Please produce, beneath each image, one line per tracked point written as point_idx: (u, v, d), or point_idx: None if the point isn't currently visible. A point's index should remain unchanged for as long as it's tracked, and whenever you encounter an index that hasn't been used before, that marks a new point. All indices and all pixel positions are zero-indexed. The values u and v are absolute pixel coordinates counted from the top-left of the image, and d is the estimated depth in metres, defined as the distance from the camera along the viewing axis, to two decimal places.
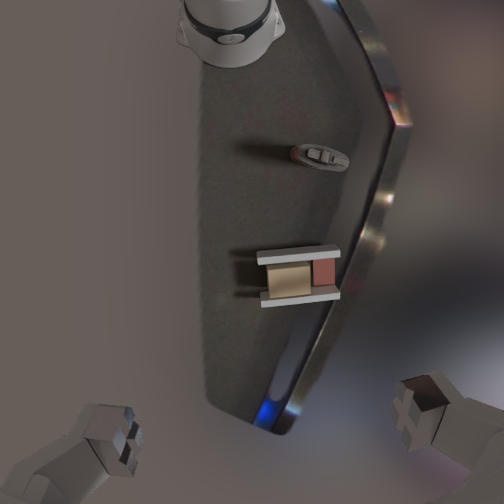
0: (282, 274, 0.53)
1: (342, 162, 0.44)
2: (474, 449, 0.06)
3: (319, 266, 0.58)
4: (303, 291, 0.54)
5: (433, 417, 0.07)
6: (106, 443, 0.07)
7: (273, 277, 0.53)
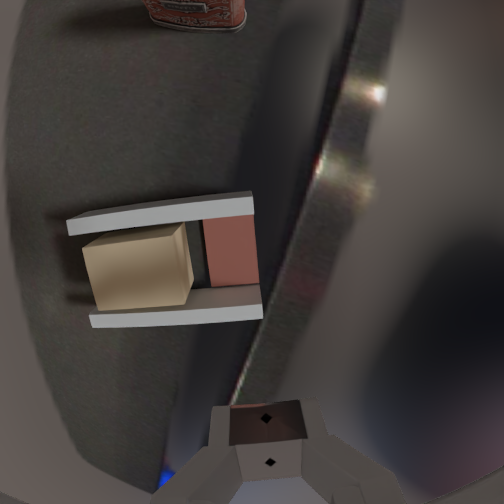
0: (112, 257, 0.21)
1: None
2: None
3: (218, 241, 0.26)
4: (166, 298, 0.22)
5: (288, 449, 0.07)
6: (259, 446, 0.07)
7: (95, 264, 0.21)
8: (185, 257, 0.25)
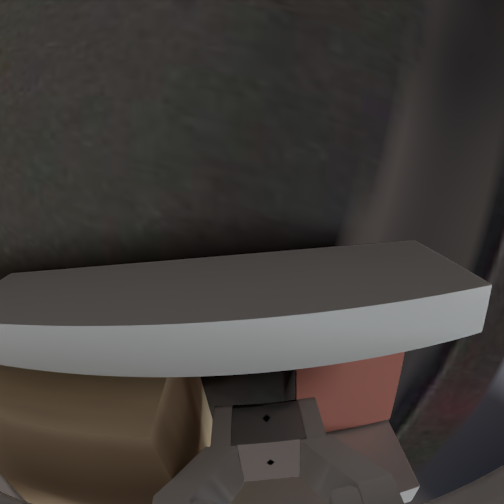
0: (9, 440, 0.05)
1: None
2: None
3: None
4: None
5: (287, 449, 0.07)
6: (262, 446, 0.07)
7: None
8: (195, 415, 0.09)
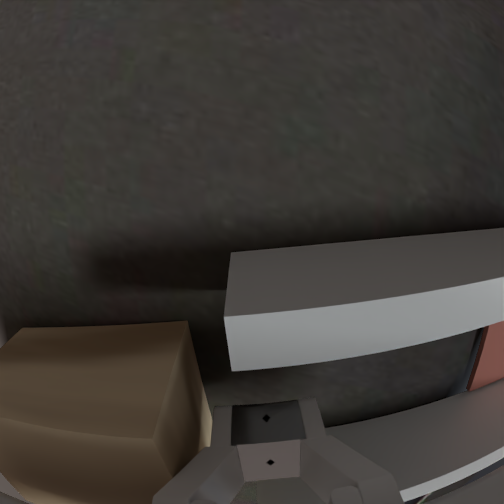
0: (10, 440, 0.05)
1: None
2: None
3: None
4: None
5: (287, 449, 0.07)
6: (261, 446, 0.07)
7: None
8: (196, 416, 0.09)
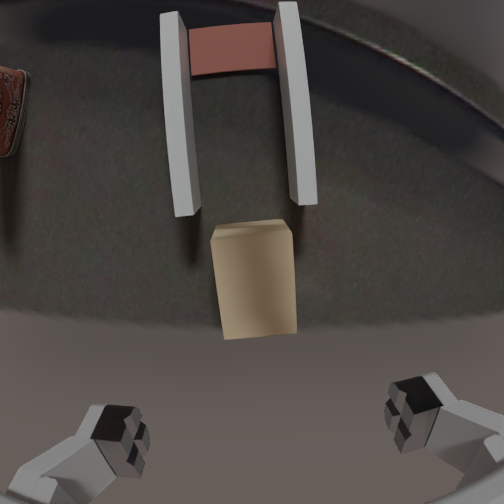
0: (234, 308, 0.21)
1: None
2: (467, 452, 0.06)
3: (222, 58, 0.21)
4: (283, 253, 0.20)
5: (426, 419, 0.07)
6: (114, 444, 0.07)
7: (242, 327, 0.21)
8: (250, 226, 0.23)
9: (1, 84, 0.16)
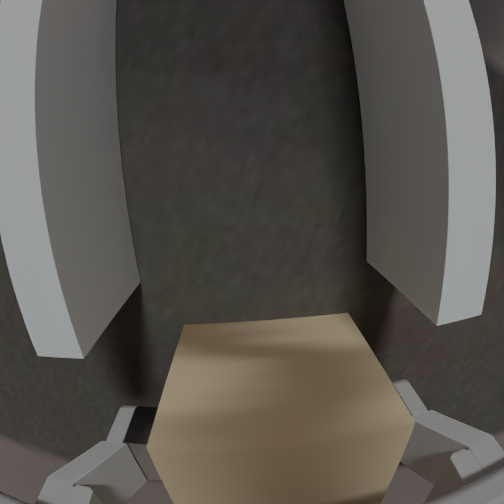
0: None
1: None
2: (438, 465, 0.06)
3: None
4: (375, 466, 0.05)
5: None
6: None
7: None
8: (272, 351, 0.08)
9: None
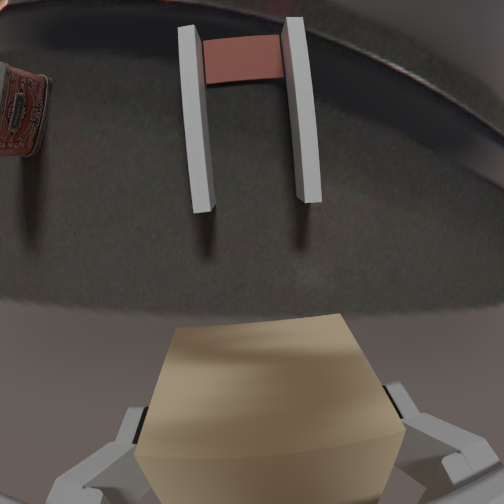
0: None
1: None
2: (430, 468, 0.06)
3: (234, 68, 0.23)
4: (367, 473, 0.05)
5: None
6: None
7: None
8: (262, 356, 0.08)
9: (25, 88, 0.19)
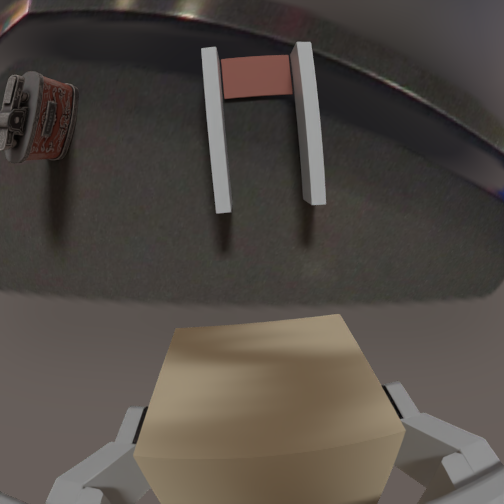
0: None
1: (10, 86, 0.17)
2: (430, 467, 0.06)
3: (249, 85, 0.27)
4: (366, 473, 0.05)
5: None
6: None
7: None
8: (261, 357, 0.08)
9: (56, 97, 0.22)
